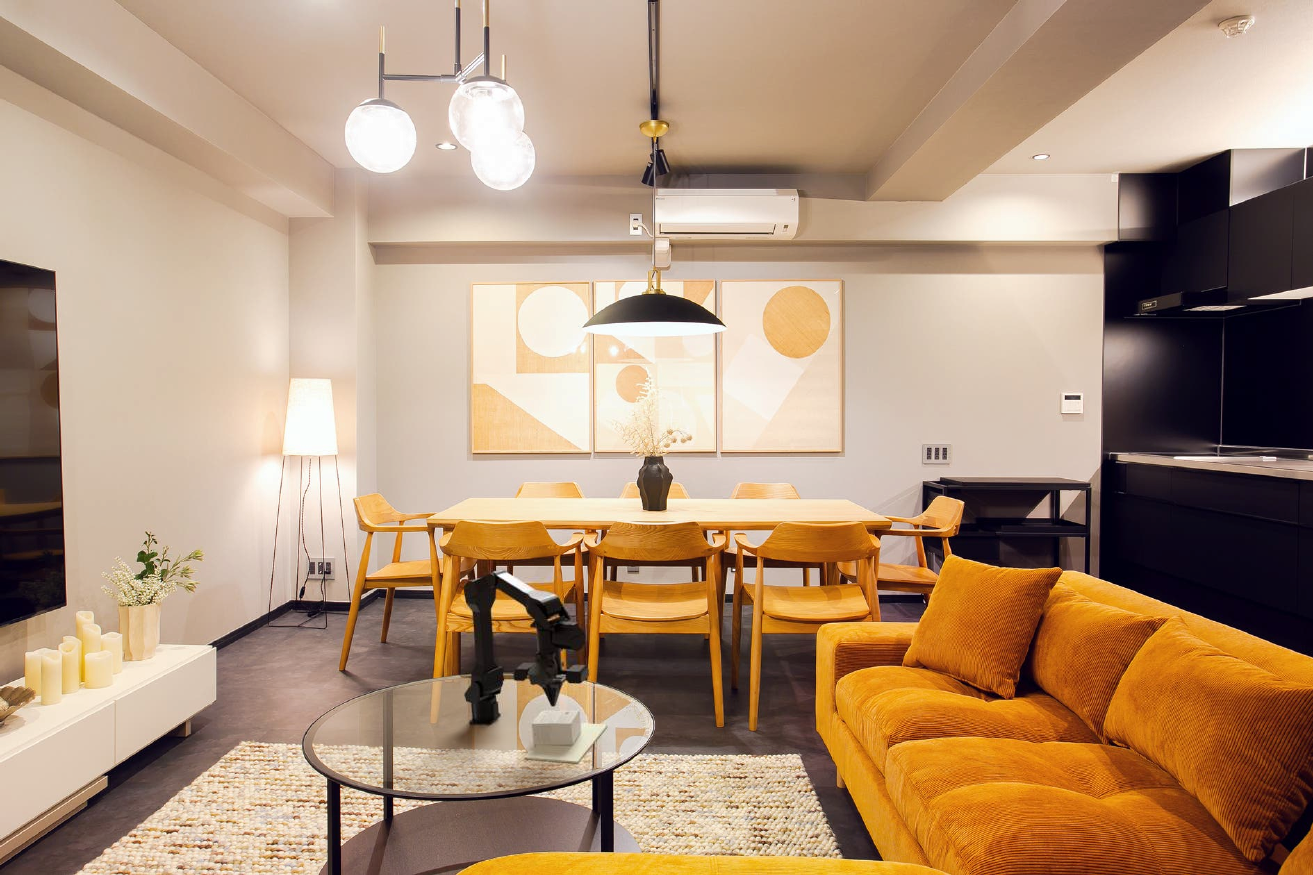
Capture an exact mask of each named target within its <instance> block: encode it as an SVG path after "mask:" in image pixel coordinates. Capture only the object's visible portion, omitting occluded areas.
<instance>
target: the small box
mask: <svg viewBox="0 0 1313 875" xmlns="http://www.w3.org/2000/svg"><path fill="white" fill-rule="evenodd" d="M581 720H582V719H581V710H541V712H540V713H539V714H538V715H537V716H536V718H535V719H534V720H533V722H532V723H531V730H532V731H531V732H532V740H533V741H532V742H533V745H534V746H536V745H573V744H574V742H575V740H576V739H577V737H578V735H579V734H580V732H581V723H582V722H581Z"/></svg>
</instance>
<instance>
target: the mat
mask: <svg viewBox="0 0 1313 875" xmlns="http://www.w3.org/2000/svg"><path fill="white" fill-rule="evenodd" d="M608 726H609V725H608V724H604V723H602V724H601V723H585V722H581V732H580V734H579V735H578V737H577V739H576V740H575V742H574V744H573V745H534V747H533V748H531V750H530V751H529V752H528V753H527V754H526V755H525V756H524V759H525V760H536V761H538V760H539V761H548V762H558V763H559V762H561V763H571V764H573V763H574V764H579V762H581V761H582V759H583V757H585V755H586V754H587V752H588V751H589V750H590V749H591V748H592V746H593V745H594V744H595V743H596V741H598V739H599V738H600V736H601V735H602V733H604V731H605V730H606V729H607V727H608Z"/></svg>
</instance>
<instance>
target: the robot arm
mask: <svg viewBox="0 0 1313 875" xmlns="http://www.w3.org/2000/svg"><path fill="white" fill-rule="evenodd" d="M498 590H499V591H500V592H502V593H503V594H505V595H506V596H507V597H509V598H511V599H513V600H514V601H516V602H517V603H519V604H520V605H521V606H523V607H524V608H525V611H526V614H527V615H528V616H530V617H531V618H532V619H533V621H532V623H530V625H529V627H530V628H532V629H535V630H536V640H537V641H536V642H537V651H536V652H535V660H534V662H522V663H521V664H520V665H519V666H517V667H516V668H515V669H514V671H513V672H512V674H513V680H514V682H515V681H516V682H525V681H526V679H528V680H529V683H530V685H531V686H535V685H538V686H539V687H541V688H542V690H543V692H544V694H545V695H546V698H547V701H548V703H549V704H550V707H556V705H557V703H558V699H559V696H560V693H561V690H562V687H563V685H564V683H565V682H567V683H568V684H576V685H579V684H582V683H583V682H584V681H585V680H587V678H588V677H589V676H590V671H589V670H590V669H589V668H588V666H587V665H586V664H573V665H572V666H571V667H569V668H563V667H564V666H565V661H562V651H563V650H565V651H570V652H580V651H581V650H582V649H583V648H584V646H585V643H586V633H585V631H584V630H583V628H581V627H579V626H580V623H579V622H577V621H573V622H571V620H572V619H571V617H570V615H569V612H568V611H567V610H566V608H565V606H564V604H563V603H562V600H561V599H560V597H559V596H558V595H557V594H555V593H552V592H548V591H546V590H537V589H535V588H533V587H532V586H530V585H528V584H526V583H525V582H523V581H522V580H520V579H519V578H517V577H515V576H513V575H512V574H510V573H509V571H508V570H506V569H503V568H502V569H498V570H494V571H491V572H489V573H488V574H486V575H484V576H482V577H479V578H475V579H471V580H468V581H467V582H466V583H465V584H464V586H463V595H464V598H465V603H466V605H467V606H468V608H469V609H470V611H471V612H472V623H473V624H472V625H473V637H474V650H475V665H474V667H473V670H472V672H471V676H470V685H469V687H468V688H467V689H466V691H465V693H463V694H464V698H465V701H466V702H467V703H470V705H471V706H470V708H471V719H470V720H469V721H468V723H469V724H473V725H475V724H476V725H487V726H488V725H491V724H492V723H494V721H496V720H498V718H499V717H500V716H501V712H500V711H499V710H500V709H499V701H497V696H498V695H500V694H501V693H502V687H503V686H504V682H505V678H504V677H505V676H504V668H503V666H499V665H498V663H497V661H496V660H495V658H496V657H495V647H494V645H495V644H494V632H493V620H492V617H493V616H492V607H493V606H494V604H495V601H496V599H497V591H498Z"/></svg>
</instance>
